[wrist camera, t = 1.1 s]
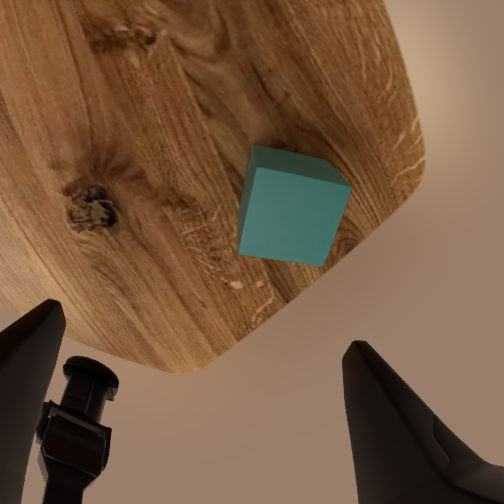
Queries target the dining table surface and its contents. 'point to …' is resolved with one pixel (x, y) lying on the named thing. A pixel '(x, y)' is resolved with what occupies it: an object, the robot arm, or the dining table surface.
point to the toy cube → (290, 206)
